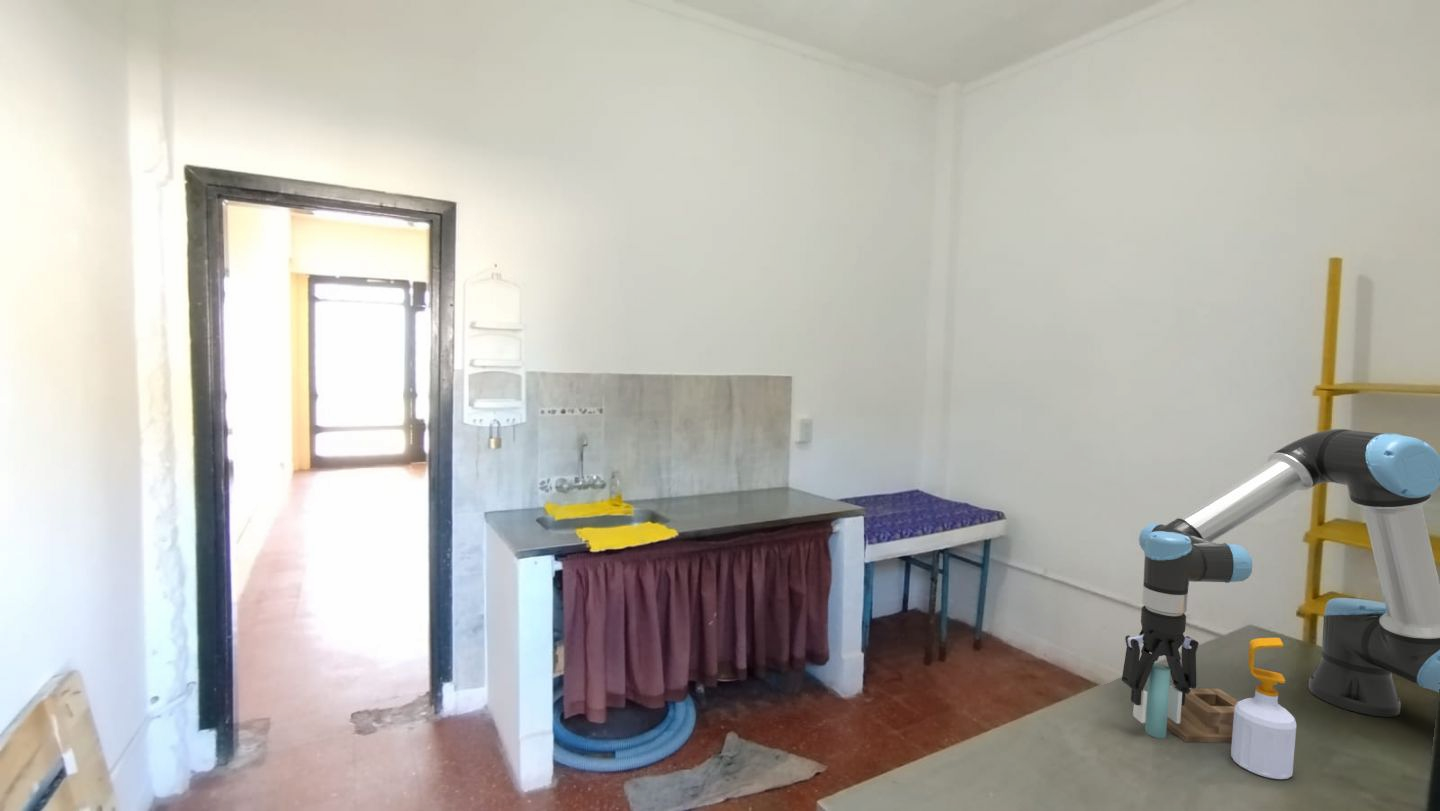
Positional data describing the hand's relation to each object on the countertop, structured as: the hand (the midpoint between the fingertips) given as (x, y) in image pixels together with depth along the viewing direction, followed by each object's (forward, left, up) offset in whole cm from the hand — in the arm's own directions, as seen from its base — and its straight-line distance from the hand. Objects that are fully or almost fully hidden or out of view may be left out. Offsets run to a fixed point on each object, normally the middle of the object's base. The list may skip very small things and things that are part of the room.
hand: (1156, 719), depth 135 cm
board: (-14, -3, -3) cm, 15 cm away
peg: (0, 0, -3) cm, 3 cm away
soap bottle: (-13, +10, -3) cm, 17 cm away
